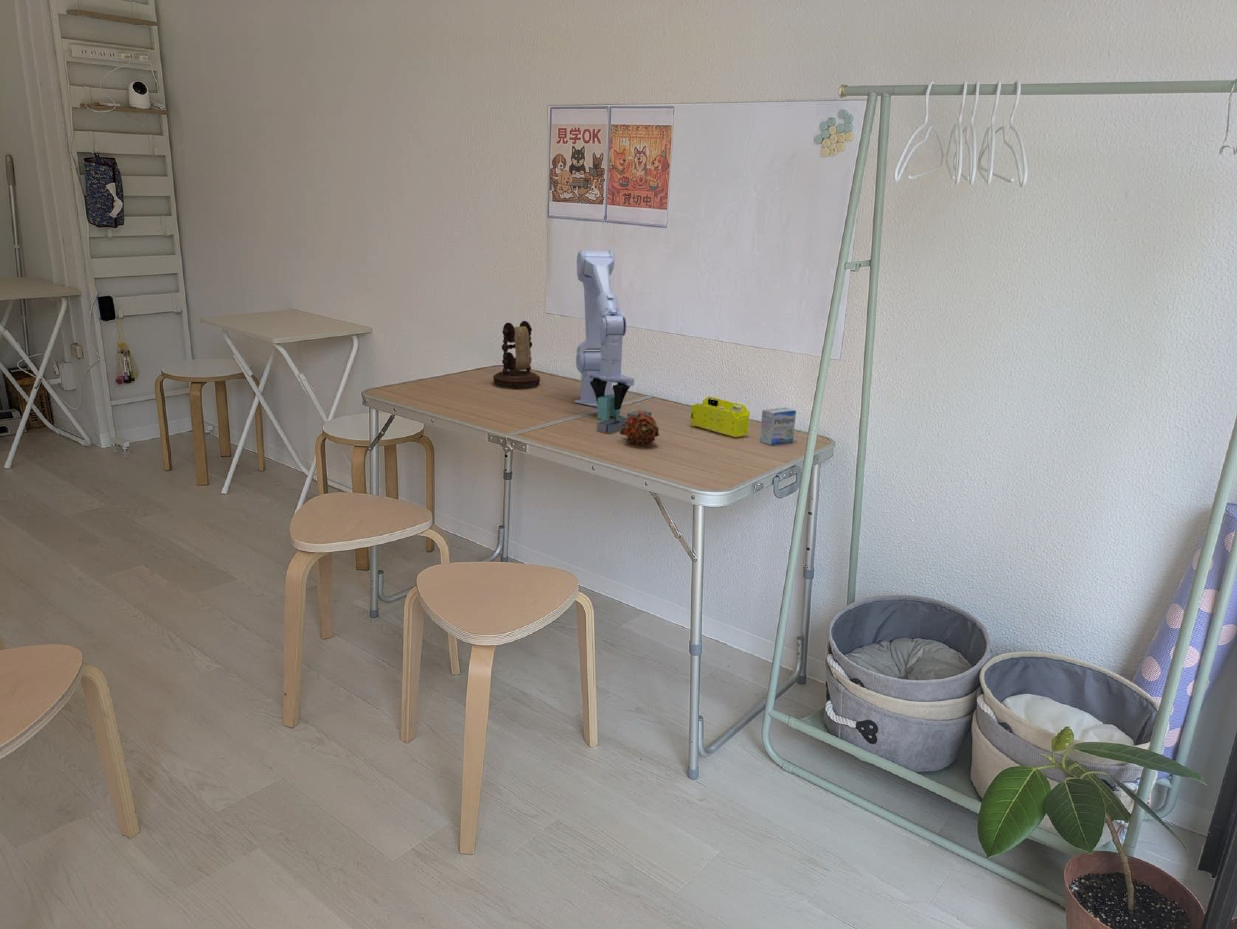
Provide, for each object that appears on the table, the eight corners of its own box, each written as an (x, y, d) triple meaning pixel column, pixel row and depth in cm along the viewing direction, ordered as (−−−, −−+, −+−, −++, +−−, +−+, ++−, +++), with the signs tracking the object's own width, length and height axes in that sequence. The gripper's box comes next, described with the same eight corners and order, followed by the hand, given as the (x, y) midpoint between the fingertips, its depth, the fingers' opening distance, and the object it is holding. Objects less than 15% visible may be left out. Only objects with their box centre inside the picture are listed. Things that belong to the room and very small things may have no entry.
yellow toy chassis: (748, 437, 244) (751, 406, 242) (734, 440, 240) (737, 409, 238) (702, 424, 255) (705, 394, 252) (689, 427, 251) (691, 397, 249)
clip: (611, 414, 260) (612, 393, 258) (620, 416, 258) (621, 395, 257) (597, 418, 254) (597, 397, 253) (605, 420, 253) (606, 399, 251)
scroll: (513, 391, 282) (514, 326, 276) (483, 383, 291) (483, 320, 285) (549, 385, 292) (551, 323, 286) (519, 377, 302) (520, 316, 296)
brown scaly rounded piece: (651, 456, 227) (625, 450, 238) (673, 433, 230) (647, 428, 240) (633, 431, 224) (607, 426, 234) (655, 408, 226) (630, 404, 236)
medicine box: (770, 445, 236) (773, 413, 233) (759, 441, 240) (762, 409, 237) (793, 442, 240) (796, 410, 237) (781, 438, 244) (785, 406, 241)
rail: (638, 417, 258) (638, 409, 257) (650, 420, 256) (651, 412, 255) (596, 431, 242) (597, 422, 241) (609, 433, 240) (610, 425, 239)
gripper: (581, 357, 252) (579, 405, 256) (624, 364, 245) (622, 414, 249) (596, 354, 258) (594, 401, 262) (639, 361, 250) (636, 409, 254)
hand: (609, 407), depth 256 cm, fingers open, 5 cm apart
